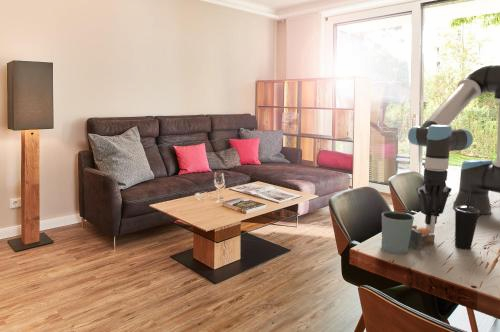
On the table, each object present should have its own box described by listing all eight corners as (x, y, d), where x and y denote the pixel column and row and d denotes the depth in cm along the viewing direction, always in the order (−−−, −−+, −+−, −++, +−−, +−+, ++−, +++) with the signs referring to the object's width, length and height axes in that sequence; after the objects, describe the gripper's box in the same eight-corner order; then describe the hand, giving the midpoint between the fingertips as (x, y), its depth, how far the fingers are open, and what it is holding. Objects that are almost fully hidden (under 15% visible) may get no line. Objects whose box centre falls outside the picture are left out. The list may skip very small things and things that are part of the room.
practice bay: (414, 233, 150) (415, 218, 149) (439, 248, 137) (441, 231, 136) (393, 235, 148) (395, 220, 147) (417, 250, 135) (418, 233, 134)
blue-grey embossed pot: (373, 247, 137) (375, 214, 135) (391, 241, 143) (393, 209, 140) (399, 257, 129) (401, 222, 127) (417, 250, 134) (420, 216, 132)
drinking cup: (474, 253, 132) (481, 195, 129) (449, 248, 136) (455, 192, 133) (476, 245, 139) (482, 190, 135) (451, 241, 143) (457, 187, 139)
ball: (424, 224, 146) (413, 226, 145) (432, 228, 142) (421, 230, 141) (423, 236, 147) (412, 237, 146) (431, 240, 143) (420, 242, 142)
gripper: (444, 166, 145) (438, 227, 150) (413, 167, 142) (407, 230, 147) (459, 170, 138) (452, 234, 143) (426, 171, 135) (420, 237, 140)
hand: (429, 232), depth 145 cm, fingers closed
